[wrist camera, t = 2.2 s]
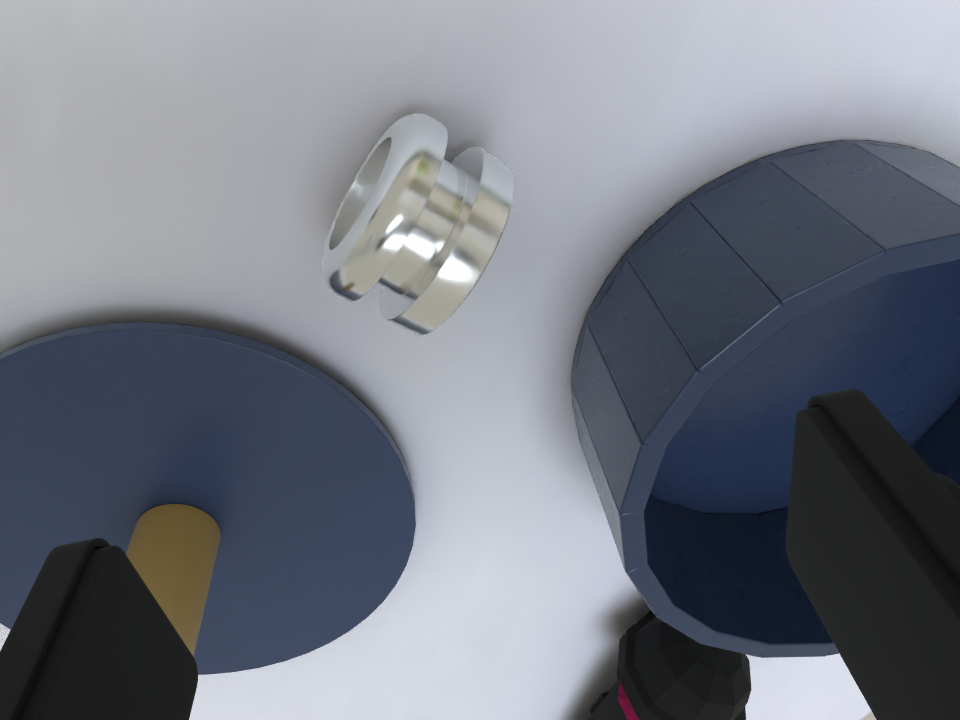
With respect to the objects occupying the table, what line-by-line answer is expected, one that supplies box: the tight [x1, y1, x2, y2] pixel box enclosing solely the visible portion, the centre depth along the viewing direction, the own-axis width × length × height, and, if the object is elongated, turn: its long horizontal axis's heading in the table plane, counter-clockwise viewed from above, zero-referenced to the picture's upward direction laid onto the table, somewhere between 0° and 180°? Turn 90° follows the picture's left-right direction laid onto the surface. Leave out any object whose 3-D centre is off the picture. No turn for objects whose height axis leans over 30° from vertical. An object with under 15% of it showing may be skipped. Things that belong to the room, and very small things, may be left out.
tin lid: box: [0, 322, 416, 675], centre depth 24 cm, size 16×16×6 cm
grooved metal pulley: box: [321, 113, 515, 335], centre depth 19 cm, size 5×3×5 cm, turn 146°
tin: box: [571, 140, 960, 658], centre depth 24 cm, size 15×15×6 cm
